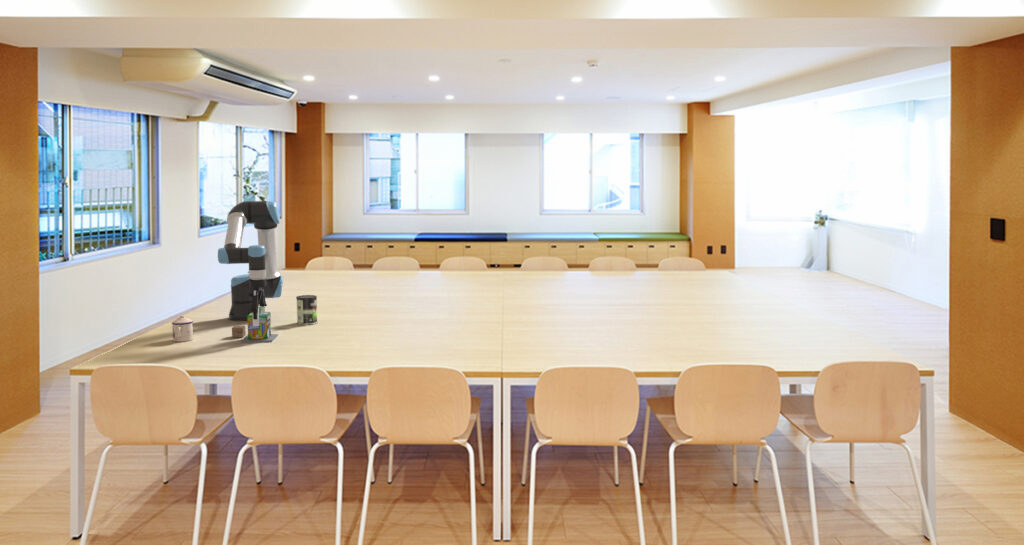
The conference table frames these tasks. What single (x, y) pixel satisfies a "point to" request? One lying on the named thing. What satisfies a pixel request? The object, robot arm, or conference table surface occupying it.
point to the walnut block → (238, 331)
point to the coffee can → (306, 309)
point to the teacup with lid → (182, 329)
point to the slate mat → (260, 339)
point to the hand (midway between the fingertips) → (259, 323)
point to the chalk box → (264, 326)
